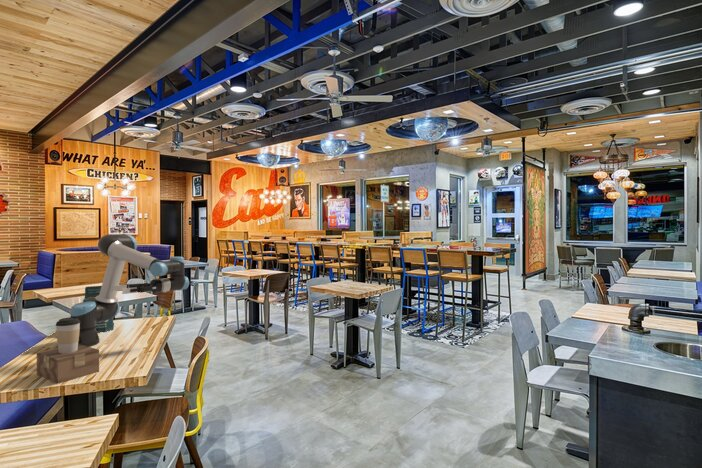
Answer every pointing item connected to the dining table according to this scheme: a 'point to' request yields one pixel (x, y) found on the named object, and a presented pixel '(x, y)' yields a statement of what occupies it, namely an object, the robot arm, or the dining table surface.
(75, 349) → the coffee cup
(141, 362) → the dining table surface
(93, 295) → the donation box
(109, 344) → the dining table surface
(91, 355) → the walnut box
